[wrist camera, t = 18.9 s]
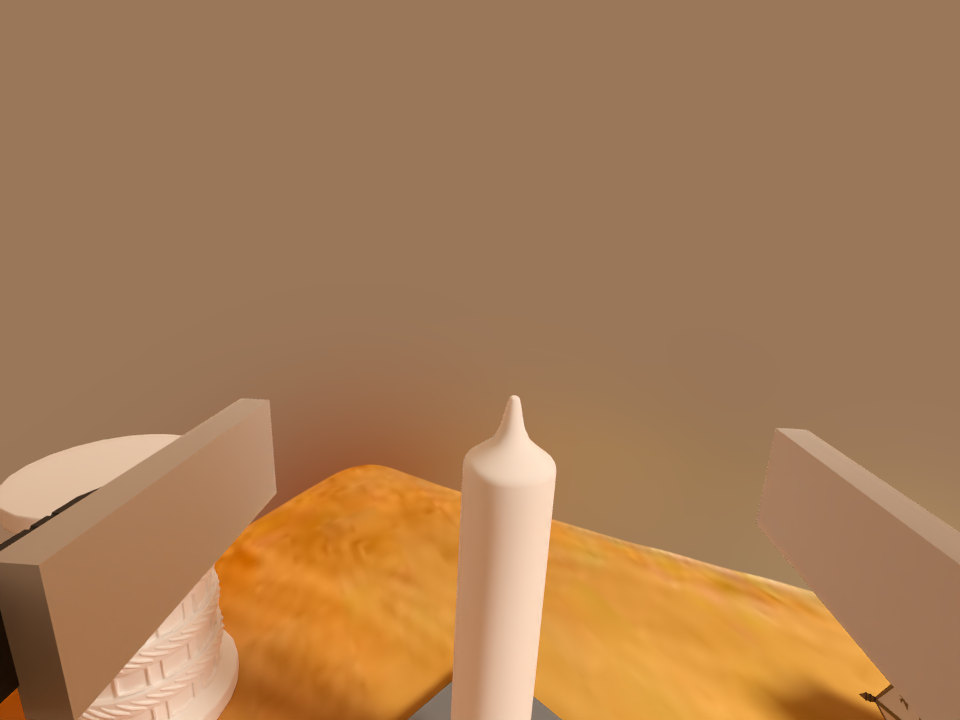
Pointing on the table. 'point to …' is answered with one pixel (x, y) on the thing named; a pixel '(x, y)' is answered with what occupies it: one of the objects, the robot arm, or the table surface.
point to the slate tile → (438, 710)
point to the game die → (892, 705)
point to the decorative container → (186, 631)
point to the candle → (501, 572)
